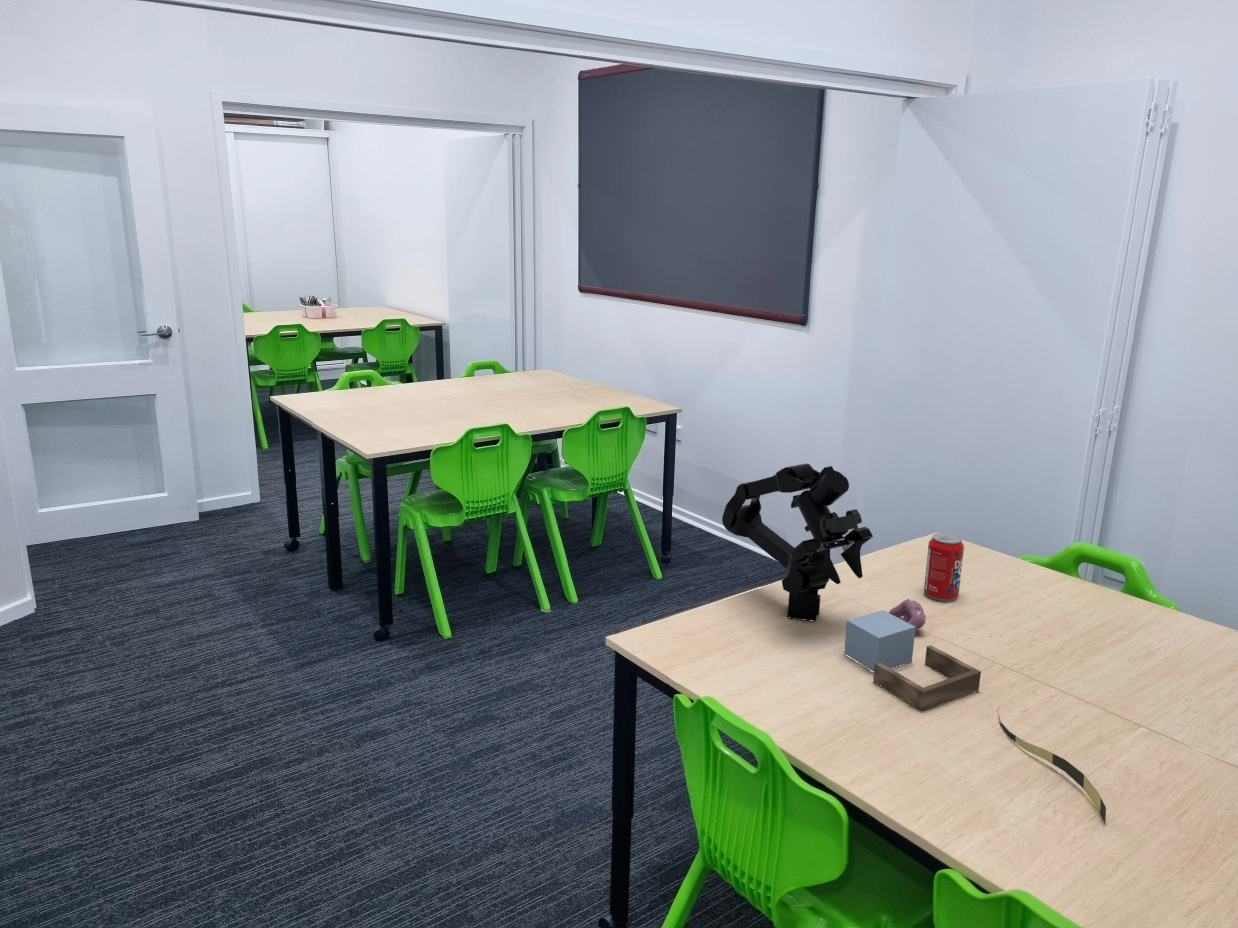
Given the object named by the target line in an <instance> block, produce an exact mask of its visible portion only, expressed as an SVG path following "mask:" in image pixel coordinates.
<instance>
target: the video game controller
mask: <svg viewBox="0 0 1238 928" xmlns="http://www.w3.org/2000/svg"><path fill="white" fill-rule="evenodd" d="M888 613H890V614H892V615H894V616H895V617H897V618H899V619H900V618H902V620H903V621H905V622H907V623H909V624H911V625H913V626H915V632H917V631H918V630H919V629H921V628H922V627H923V626H924V625H925V624H926V620H927V619H926V618H927V617H926V614H925V612H924V608H923V606H922V605H921V604H920V603H919V602H918V601H916V600H913V599H909V598H907V599H906V600H903V601H902V602H901V603H899V604H898V605H896V606H894V607H893V608H891V609H890V610H889V611H888Z"/></svg>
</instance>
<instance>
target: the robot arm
mask: <svg viewBox="0 0 1238 928" xmlns="http://www.w3.org/2000/svg"><path fill="white" fill-rule="evenodd" d="M849 490H850V482H849V480H848V478H847V477H846V476H844V474H843V473H841V472H840V471H837V470H835V469H834V467H833V466H832V465H830V466H825V467H823V469H821V471H820V472H819V471H818V470H816V469H814V468H813V466H811V464H810V463H801V464H796V465H791V466H787V467H786V466H785V467H783V468H780V470H778V471H777V472H775V474H774V475H772V476H770V477H769V476H768V477H764V478H761V479H758V480H753V481H748V482H744V483H740V484H739V485H737V486H736V489H735V492H734V495H733V496H731V498H730V499H729V501H727V503H726V505H725V507H724V510H723V514H722V517H721V520H722V525H723V527H724V528H725V530H726V531H727V532H728V533H731V534H733V535H734V536H736V537H737V536H738V537H742V538H747V539H748V540H750V541H752V542H753V543H754V544H755V545H756V546H758V547H759V548H760V549H761V550H763V551H764V552H765V553H767V555H769V556H770V557H771V558H773V559H774V560H775V561H776V562H778V563H779V565H781V566H782V567H783V568H785V569H786V570H785V571H786V576H785V577H784V578H783V579H782V580H781V585H782V589H783V590H784V591H785V592H788V606H787V607H788V609H787V613H786V618H787V617H790V618H789V619H792V618H796V619H795V620H801V619H806V620H805V621H809V620H813V621H812V622H816V621H817V617H818V616H819V615H820V609H821V598H822V597H821V596H822V595H821V594H819V590H824V589H826V586H827V585H828V582H830V580H831V581H832V582H833V583H835V584H836V585H839V584H841V583H842V581H841V578H840V576H839V574H838V571H837V569H836V567H835V565H834V562H833V560H832V558H831V550H832V549H836V548H840V547H841V548H842V550H843V552H841V553H840V556H841V558H843V560H844V561H845V563H846V564H847V566H848V567H849V569H850V570H851V571H852V573H853V574H854V575H855V576H856V577H857V578H858V579H861V578H863V569H862V568H863V567H862V560H861V559H862V558H861V549H862V546H863V545H865V543H867V542H868V541H869V540H871V539H873V538H874V536H873V533H872V532H871V530H870V528H868V527H866V526H863V527H859V526H858V525H860V524H862V522H863V520H862V519H863V518H862V516H861V513H860V512H859V511H858V509H856V508H855V509H851V510H846V511H845V515H844V516H839V515H838V514H837V513H838V512H835V511H834V512H831V510H830V508H829V506H832V505H833V504H834V503H836V502H837V500H839V499H840V498H841V497H842V496H843V495H845V494H846V493H847V492H848V491H849ZM800 491H801V493H800V494H796V495H793V496H792V499H791V500H792V501H791V503H790V508H791V509H794V508H795V509H796V508H798V510H799V511H800V513H801V515H802V518H803V519H804V522H805V524H806V526H805V527H804V530H805V532H810V534H811V535H812V538H810V539H806V540H802V541H801V542H799V544H797V545H796V546H795V547H794V546H793V545H791V544H790V542H788V541H787V540H785V539H784V538H782V537H781V536H780V535H779V534H777V533H776V532H775V531H774V530H772V529H771V528H770V527H769V526H767V525H766V524H764V523H763V520H762V515H761V509H762V504H761V500H760V498H761V496H764V495H765V496H766V495H769V494H772V493H773V494H774V493H777V492H780V493H784V494H785V493H787V494H788V493H789V494H791V493H796V492H800ZM746 500H751V501H750V503H749V504H746V505H745V503H746ZM849 531H850V532H849ZM844 535H845V536H844ZM815 620H816V621H815Z"/></svg>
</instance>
